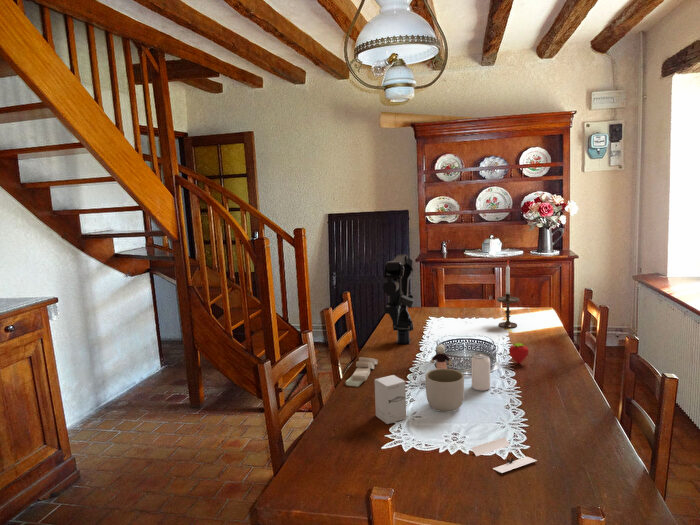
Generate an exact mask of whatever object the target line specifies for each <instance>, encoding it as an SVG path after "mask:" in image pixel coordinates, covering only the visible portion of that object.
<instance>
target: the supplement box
mask: <svg viewBox="0 0 700 525" xmlns="http://www.w3.org/2000/svg"><path fill="white" fill-rule="evenodd" d="M406 389H407V388H406V380H404V379H402V378H400V377H398V376H397V375H395V374H392V375H387V376H383V377H378V378H375V379H374V399H375V400H374V401H375V403H374V404H375V406H374V407H375V416H376V417H377V418H378V419H379V420H381V421H382V422H384V423H385V424H387V425H389V424H392V423H395V422H398V421H402V420H406V419H407V401H406V400H407V398H406V397H407V394H406V393H407V392H406Z"/></svg>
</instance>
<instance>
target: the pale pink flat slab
mask: <svg viewBox="0 0 700 525" xmlns="http://www.w3.org/2000/svg"><path fill="white" fill-rule="evenodd" d="M510 446H511V444H510V442H509V441H508V440H507V438H506V437H501V438H497V439H495V440H491V441H489V442H488V441H487V442H484V443H482V444H479V445H476V446H473V447H470V449H471V450H472V452H473V453H474V455H475V457H479V456H482V455H484V454H488V453H491V452H494V451H496V450H500V449H503V448H506V447H510ZM534 462H538V460H537V459H534V458H532V457H529V456H525V457H522V458H519V459H514V457H511V458H510V459H509V458H508V459H506V463H505V464H502V465H499V466H496V467H493V468H492V469H493V470H495V471H496V472H498V473H501V474H503V473H506V472H509V471H512V470H513V469H517V468H520V467H522V466H526V465H529V464H531V463H534Z"/></svg>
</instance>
